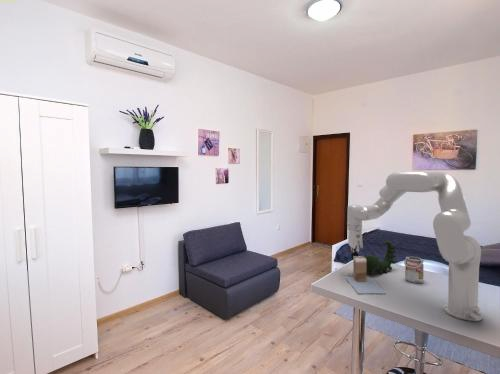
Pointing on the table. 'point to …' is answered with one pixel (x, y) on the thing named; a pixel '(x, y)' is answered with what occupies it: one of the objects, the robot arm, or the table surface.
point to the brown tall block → (359, 268)
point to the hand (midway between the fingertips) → (354, 259)
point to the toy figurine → (377, 264)
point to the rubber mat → (365, 286)
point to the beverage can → (414, 269)
